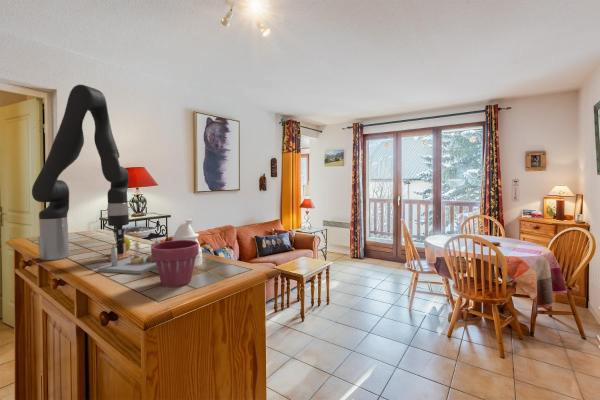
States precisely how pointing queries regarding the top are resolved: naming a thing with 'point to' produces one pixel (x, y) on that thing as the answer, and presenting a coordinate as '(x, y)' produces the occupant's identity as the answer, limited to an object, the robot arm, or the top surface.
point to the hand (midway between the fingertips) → (119, 252)
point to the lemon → (127, 243)
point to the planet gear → (120, 256)
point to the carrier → (130, 263)
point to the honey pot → (188, 238)
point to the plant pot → (175, 261)
